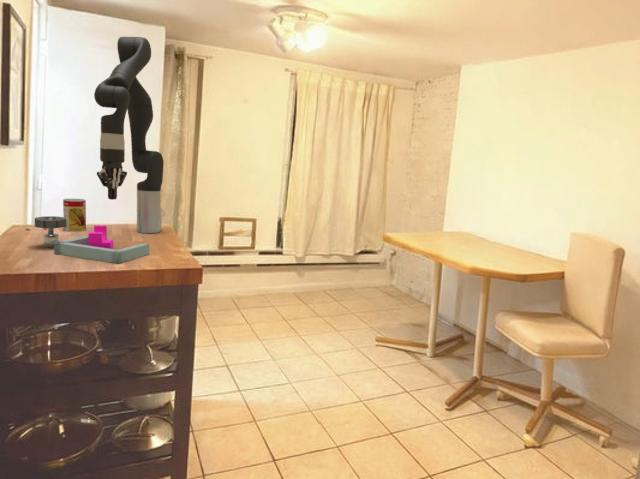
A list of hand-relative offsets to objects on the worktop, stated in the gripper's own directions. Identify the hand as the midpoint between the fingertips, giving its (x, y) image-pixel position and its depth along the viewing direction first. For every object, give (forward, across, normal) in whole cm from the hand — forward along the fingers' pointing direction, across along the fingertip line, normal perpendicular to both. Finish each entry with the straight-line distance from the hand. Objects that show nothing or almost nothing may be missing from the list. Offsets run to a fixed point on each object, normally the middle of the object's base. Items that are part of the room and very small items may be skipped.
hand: (112, 199), depth 159 cm
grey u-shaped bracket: (+17, +10, +4) cm, 20 cm away
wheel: (+10, +10, -16) cm, 21 cm away
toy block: (+17, +6, +1) cm, 18 cm away
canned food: (+17, -19, -32) cm, 41 cm away
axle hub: (+17, +10, -16) cm, 25 cm away
